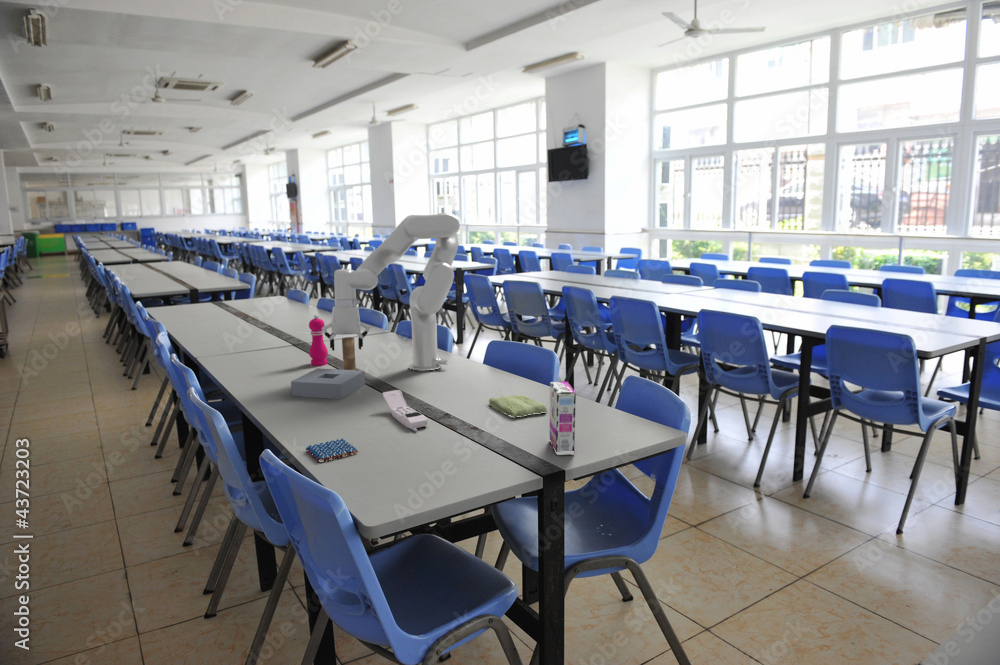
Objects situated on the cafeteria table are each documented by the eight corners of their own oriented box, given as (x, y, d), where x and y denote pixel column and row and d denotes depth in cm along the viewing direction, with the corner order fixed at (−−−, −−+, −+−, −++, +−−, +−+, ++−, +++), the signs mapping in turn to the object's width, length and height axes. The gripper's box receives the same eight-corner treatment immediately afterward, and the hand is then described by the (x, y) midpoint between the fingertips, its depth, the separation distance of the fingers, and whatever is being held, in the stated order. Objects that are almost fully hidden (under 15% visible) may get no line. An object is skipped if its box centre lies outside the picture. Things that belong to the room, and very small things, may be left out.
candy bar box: (575, 455, 164) (576, 392, 161) (555, 456, 164) (556, 393, 161) (567, 440, 175) (568, 380, 172) (548, 440, 175) (549, 381, 171)
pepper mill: (323, 366, 258) (320, 316, 254) (306, 365, 259) (303, 315, 255) (331, 362, 265) (328, 313, 261) (315, 361, 266) (312, 312, 262)
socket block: (365, 384, 231) (364, 370, 230) (341, 399, 214) (340, 384, 213) (318, 381, 235) (317, 368, 234) (291, 396, 218) (290, 381, 217)
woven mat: (359, 456, 166) (359, 448, 166) (319, 465, 161) (318, 457, 160) (344, 444, 175) (343, 436, 174) (304, 452, 169) (304, 445, 169)
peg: (358, 374, 246) (356, 337, 243) (352, 377, 241) (350, 339, 239) (347, 373, 247) (345, 337, 244) (341, 376, 242) (339, 339, 240)
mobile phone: (399, 389, 205) (431, 409, 183) (400, 407, 206) (432, 429, 184) (381, 392, 202) (411, 413, 180) (382, 410, 203) (412, 433, 181)
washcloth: (522, 400, 213) (522, 390, 212) (549, 415, 197) (549, 404, 196) (485, 405, 207) (485, 395, 206) (511, 421, 191) (511, 411, 191)
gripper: (368, 301, 245) (369, 346, 248) (320, 302, 240) (321, 348, 243) (370, 304, 238) (371, 350, 241) (321, 305, 233) (322, 352, 236)
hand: (346, 349), depth 242 cm, fingers open, 9 cm apart
